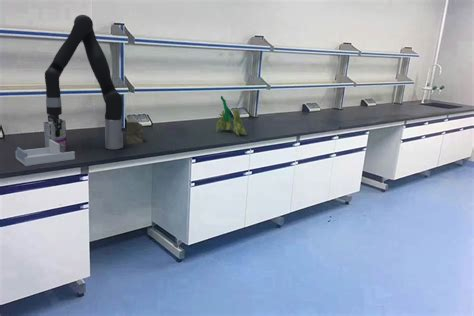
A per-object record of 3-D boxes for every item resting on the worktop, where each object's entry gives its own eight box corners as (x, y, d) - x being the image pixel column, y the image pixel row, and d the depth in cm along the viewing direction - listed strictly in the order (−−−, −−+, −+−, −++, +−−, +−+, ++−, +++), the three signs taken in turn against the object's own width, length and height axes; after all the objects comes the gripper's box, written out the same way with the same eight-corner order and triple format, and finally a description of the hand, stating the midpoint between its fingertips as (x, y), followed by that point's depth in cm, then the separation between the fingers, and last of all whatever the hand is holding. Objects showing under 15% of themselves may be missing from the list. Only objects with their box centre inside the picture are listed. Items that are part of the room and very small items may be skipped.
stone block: (134, 138, 264) (134, 115, 260) (143, 143, 252) (143, 120, 248) (119, 139, 258) (119, 116, 254) (127, 144, 246) (127, 120, 242)
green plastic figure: (249, 134, 295) (248, 93, 285) (234, 140, 283) (231, 98, 273) (224, 129, 312) (222, 90, 301) (208, 134, 300) (205, 94, 290)
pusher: (59, 151, 217) (58, 138, 215) (67, 156, 209) (67, 143, 207) (49, 152, 213) (48, 139, 211) (58, 158, 205) (57, 144, 203)
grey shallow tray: (63, 152, 220) (63, 142, 219) (74, 159, 210) (74, 148, 209) (16, 158, 204) (15, 147, 202) (25, 166, 194) (24, 154, 192)
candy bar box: (60, 147, 230) (59, 119, 226) (67, 148, 228) (66, 120, 224) (44, 151, 220) (43, 121, 215) (51, 152, 218) (50, 123, 214)
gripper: (66, 107, 215) (67, 137, 219) (55, 103, 225) (57, 132, 229) (51, 108, 210) (53, 139, 214) (41, 103, 220) (43, 133, 224)
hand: (55, 135), depth 222 cm, fingers closed on candy bar box, 6 cm apart
